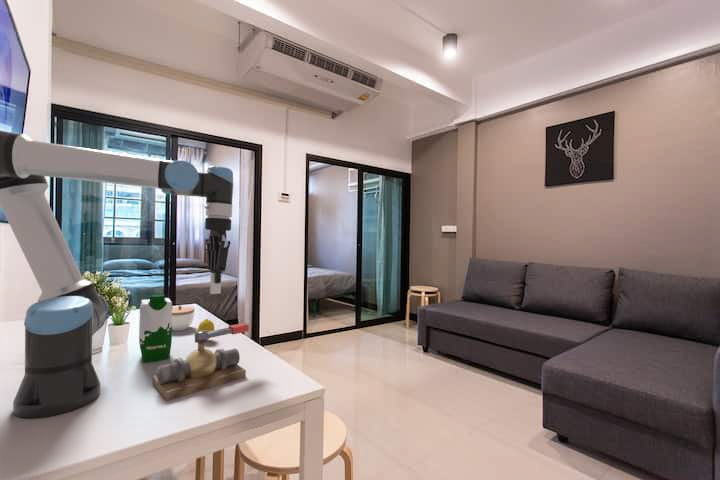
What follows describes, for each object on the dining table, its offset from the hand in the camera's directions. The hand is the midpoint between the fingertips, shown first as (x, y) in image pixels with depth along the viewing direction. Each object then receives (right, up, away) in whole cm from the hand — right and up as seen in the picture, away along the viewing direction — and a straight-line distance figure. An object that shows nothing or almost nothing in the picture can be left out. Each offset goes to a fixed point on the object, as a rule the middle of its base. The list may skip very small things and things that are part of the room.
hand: (215, 293), depth 105 cm
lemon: (-12, -21, +19) cm, 30 cm away
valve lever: (+6, -11, -9) cm, 15 cm away
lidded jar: (-29, -20, +33) cm, 48 cm away
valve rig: (+2, -22, -13) cm, 25 cm away
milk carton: (-20, -21, +2) cm, 29 cm away
